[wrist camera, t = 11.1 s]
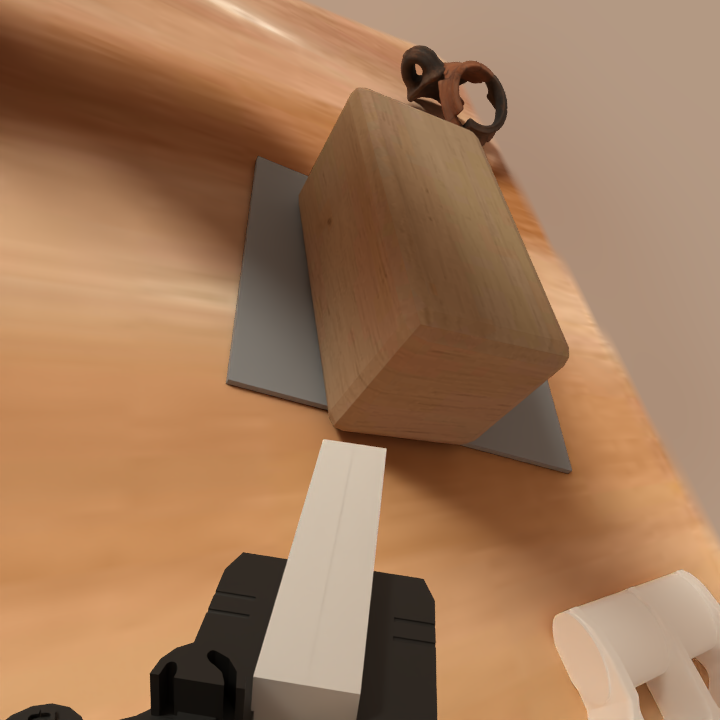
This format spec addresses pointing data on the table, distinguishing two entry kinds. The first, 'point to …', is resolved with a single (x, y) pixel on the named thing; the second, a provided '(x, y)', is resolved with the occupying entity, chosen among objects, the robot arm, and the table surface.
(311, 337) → the rubber mat
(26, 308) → the table surface
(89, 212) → the table surface
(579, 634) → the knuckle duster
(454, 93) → the brown hollow looped part
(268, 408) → the table surface
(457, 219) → the wooden block
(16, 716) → the robot arm
